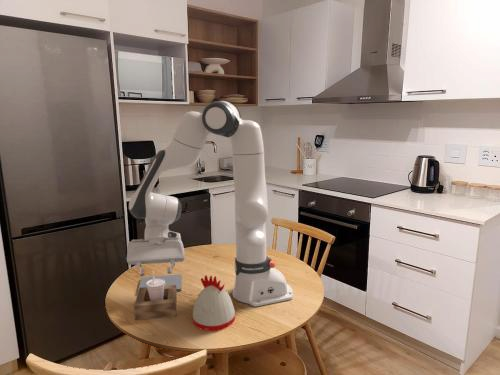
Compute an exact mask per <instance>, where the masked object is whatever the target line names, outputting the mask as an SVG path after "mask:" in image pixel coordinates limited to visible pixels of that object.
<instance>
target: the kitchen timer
mask: <svg viewBox="0 0 500 375" xmlns="http://www.w3.org/2000/svg"><path fill="white" fill-rule="evenodd" d="M200 281H201V284H202V286H203V289H202V290H201V291H200V292H199V294H197V297H196V300H195V302H194V305H193V309H192V323H193V324H194V326H195V327H197V328H198V329H200V330H203V331H210V332H211V331H212V332H213V331H220V330H221V331H222V330H225V329H227V328H228V327H230V326H231V325H233V324H234V322H235V320H236V310H235V307H234V304H233V300H232V298H231V296H230V295H229V294H230V293H228V291H226V289H225V288H224V287H225V283H224V284H222V286H220V284H221V280H217V276H216V275H215V276H214V277H213V276H212V275H210V276H209V278H208V276H207V275H204V278H203V277H201V278H200Z"/></svg>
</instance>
